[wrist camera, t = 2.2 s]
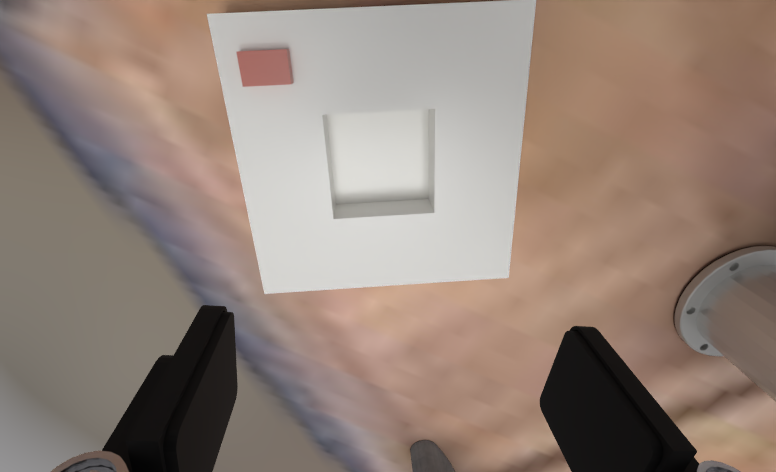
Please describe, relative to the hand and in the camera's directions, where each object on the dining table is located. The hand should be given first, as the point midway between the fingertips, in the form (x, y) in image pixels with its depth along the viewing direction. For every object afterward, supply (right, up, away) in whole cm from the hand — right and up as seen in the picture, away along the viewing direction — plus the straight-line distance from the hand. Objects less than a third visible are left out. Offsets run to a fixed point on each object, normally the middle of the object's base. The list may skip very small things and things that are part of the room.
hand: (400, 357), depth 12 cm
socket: (-1, +10, +21) cm, 24 cm away
